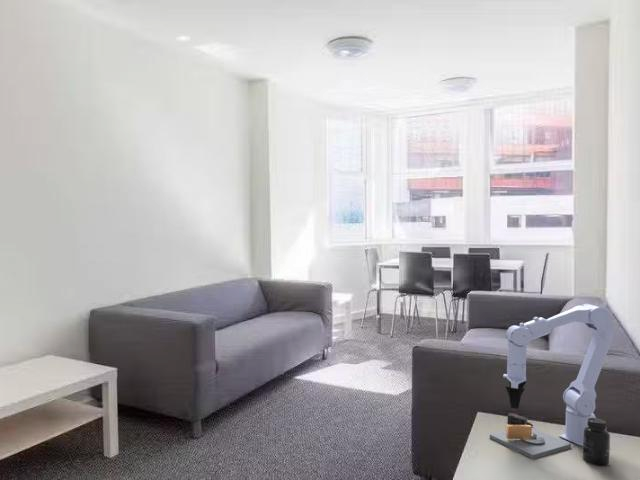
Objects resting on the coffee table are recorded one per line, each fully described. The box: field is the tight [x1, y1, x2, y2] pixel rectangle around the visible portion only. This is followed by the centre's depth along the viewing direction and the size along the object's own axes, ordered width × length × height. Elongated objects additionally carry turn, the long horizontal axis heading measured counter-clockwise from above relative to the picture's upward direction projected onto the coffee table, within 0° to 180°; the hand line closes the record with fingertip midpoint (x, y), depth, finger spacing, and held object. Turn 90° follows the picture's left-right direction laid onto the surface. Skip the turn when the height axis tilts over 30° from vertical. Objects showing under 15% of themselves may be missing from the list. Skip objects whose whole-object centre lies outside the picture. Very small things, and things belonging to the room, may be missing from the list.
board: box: [489, 427, 572, 460], centre depth 151 cm, size 18×16×2 cm
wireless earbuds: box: [506, 412, 534, 427], centre depth 166 cm, size 5×7×3 cm, turn 37°
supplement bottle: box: [582, 417, 611, 467], centre depth 140 cm, size 7×7×12 cm
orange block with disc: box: [505, 424, 545, 444], centre depth 150 cm, size 12×7×4 cm, turn 94°
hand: (515, 404), depth 156 cm, fingers open, 7 cm apart
